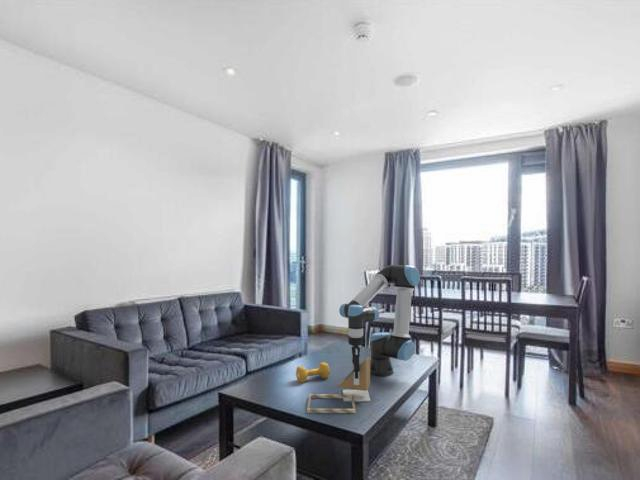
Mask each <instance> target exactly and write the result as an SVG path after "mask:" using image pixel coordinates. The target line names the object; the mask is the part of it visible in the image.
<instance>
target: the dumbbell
mask: <svg viewBox="0 0 640 480" xmlns="http://www.w3.org/2000/svg"><path fill="white" fill-rule="evenodd" d="M318 375H319V376H320V378H322V379H328V378H329V376H330V366H329V364H328V363H326V362H325V361H324V362H323V361H322V362H320V363H319V364H318V367H317V368H311V369H306V367H305V366H302V365H301V366H300V365H299V366H296V370H295V376H296V377H295V378H296V380H297V381H298V383H301V384H302V383H305V382H307V379H308V377H313V376H318Z"/></svg>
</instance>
